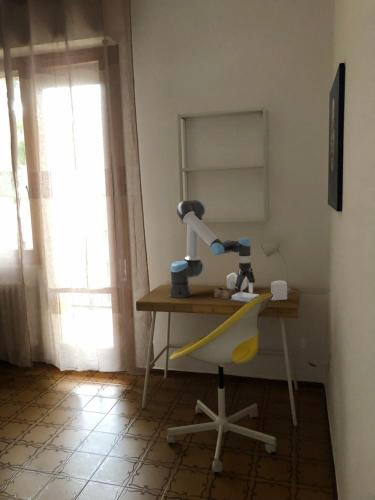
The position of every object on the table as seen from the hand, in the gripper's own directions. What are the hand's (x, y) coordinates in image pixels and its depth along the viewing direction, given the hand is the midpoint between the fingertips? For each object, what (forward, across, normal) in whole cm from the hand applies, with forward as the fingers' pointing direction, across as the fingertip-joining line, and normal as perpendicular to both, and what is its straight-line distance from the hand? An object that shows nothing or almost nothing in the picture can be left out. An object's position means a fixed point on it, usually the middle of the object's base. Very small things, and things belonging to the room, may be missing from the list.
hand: (245, 294), depth 265 cm
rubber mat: (+3, 0, 0) cm, 3 cm away
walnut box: (+3, 0, +16) cm, 16 cm away
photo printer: (+3, +11, -18) cm, 21 cm away
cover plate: (+3, 0, 0) cm, 3 cm away
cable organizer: (+3, +21, +20) cm, 29 cm away
